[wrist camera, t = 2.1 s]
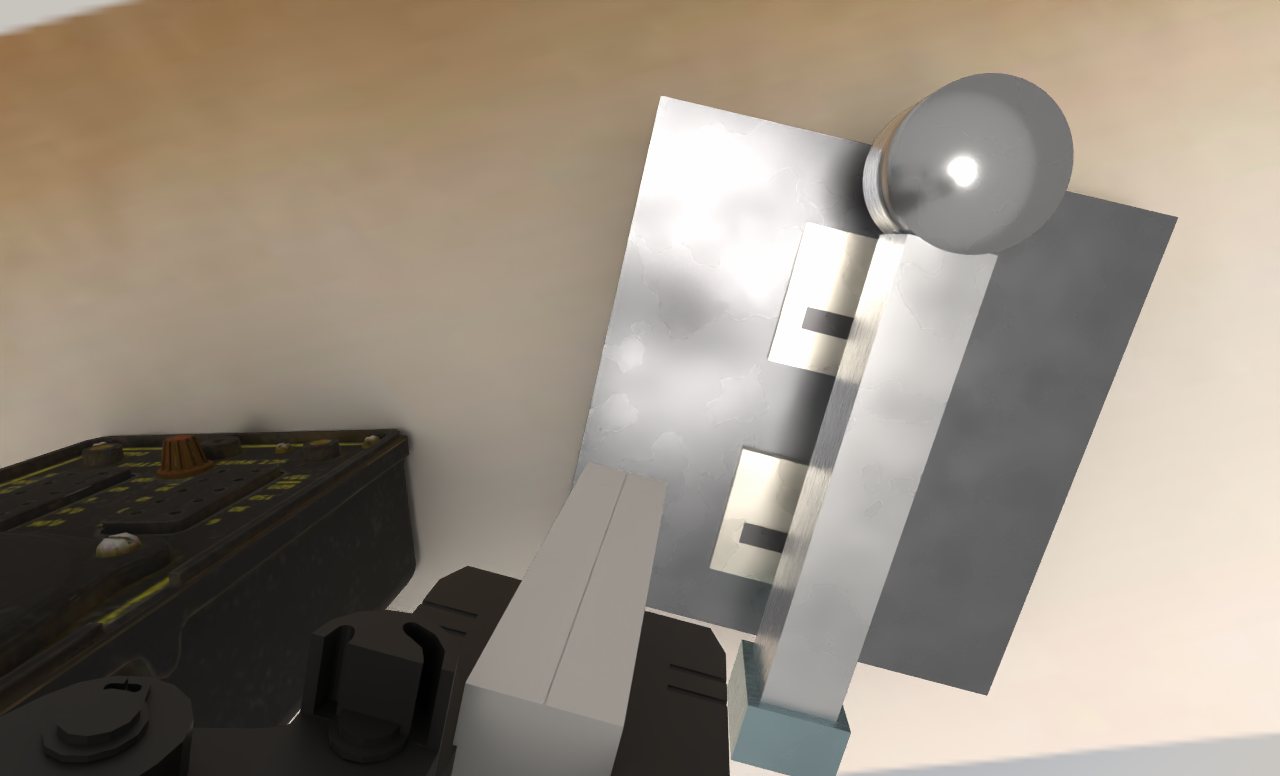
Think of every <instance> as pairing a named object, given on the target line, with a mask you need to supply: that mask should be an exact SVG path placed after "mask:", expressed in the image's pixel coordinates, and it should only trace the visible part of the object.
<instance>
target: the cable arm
mask: <svg viewBox="0 0 1280 776" xmlns="http://www.w3.org/2000/svg"><path fill="white" fill-rule="evenodd" d="M1072 167H1073V142H1072V136H1071V132H1070V128H1069V126H1068V123H1067V121H1066V118H1065V116H1064V115H1063V113H1062V111H1061V109H1060V108H1059V106H1058V105H1057V104H1056V103H1055V101H1054V100H1053V99H1052V98H1051V97H1050V96H1049V95H1048V94H1047V93H1046V92H1045V91H1044V90H1042V89H1041V88H1039V87H1038V86H1036V85H1035V84H1033V83H1031V82H1029V81H1027V80H1025V79H1022V78H1019V77H1016V76H1012V75H1007V74H1000V73H985V74H977V75H972V76H968V77H964V78H961V79H959V80H956V81H954V82H951V83H950V84H948V85H946V86H944V87H942V88H940V89H939V90H937V91H936V92H934V93H932V94H931V95H929V96H928V97H926V98H924V99H923V100H921V101H920V102H918V103H916V104H915V105H913V106H912V107H910V108H908V109H907V110H905V111H904V112H902V113H901V114H899V115H898V116H897V117H895V118H894V119H893V120H892V121H891V122H890V123H888V124H887V125H886V127H885V128H884V129H883V130H882V131H881V132H880V134H879V135H878V137H877V138H876V140H875V141H874V143H873V145H872V147H871V149H870V151H869V154H868V156H867V159H866V163H865V167H864V173H863V193H864V199H865V202H866V206H867V209H868V211H869V213H870V215H871V217H872V219H873V221H874V222H875V224H876V225H877V226H878V227H879V229H880V230H881V231H882V232H883V233H884V234H880V236H879V239H878V242H877V246H876V249H875V252H874V255H873V259H872V262H871V265H870V268H869V272H868V275H867V278H866V281H865V285H864V288H863V291H862V294H861V298H860V301H859V304H858V307H857V311H856V314H855V317H854V321H853V324H852V327H851V330H850V334H849V337H848V340H847V343H846V347H845V350H844V353H843V356H842V360H841V363H840V366H839V369H838V373H837V376H836V379H835V382H834V386H833V389H832V392H831V396H830V399H829V402H828V405H827V409H826V412H825V415H824V418H823V422H822V425H821V428H820V431H819V435H818V438H817V441H816V444H815V448H814V451H813V454H812V457H811V461H810V464H809V467H808V470H807V474H806V477H805V480H804V484H803V487H802V490H801V493H800V497H799V500H798V503H797V506H796V510H795V513H794V516H793V519H792V523H791V526H790V529H789V532H788V536H787V539H786V542H785V545H784V549H783V552H782V555H781V558H780V562H779V565H778V568H777V572H776V575H775V578H774V581H773V585H772V588H771V591H770V594H769V598H768V601H767V604H766V607H765V611H764V614H763V617H762V620H761V624H760V627H759V630H758V633H757V637H756V640H755V643H753V642H749V641H745V640H741V643H740V647H739V650H738V653H737V657H736V660H735V663H734V667H733V670H732V673H731V677H730V680H729V683H728V687H727V694H728V713H729V732H730V751H731V760H734V761H737V762H741V763H745V764H749V765H752V766H756V767H760V768H763V769H767V770H771V771H775V772H778V773H782V774H786V775H790V776H836V773H837V771H838V768H839V765H840V762H841V759H842V756H843V754H844V751H845V748H846V745H847V742H848V740H849V737H850V734H851V731H850V728H849V724H848V721H847V718H846V714H845V711H844V708H843V701H844V699H845V696H846V693H847V690H848V687H849V684H850V681H851V678H852V675H853V673H854V670H855V667H856V664H857V661H858V658H859V655H860V652H861V650H862V647H863V644H864V641H865V638H866V635H867V632H868V629H869V626H870V624H871V621H872V618H873V615H874V612H875V609H876V606H877V603H878V600H879V598H880V595H881V592H882V589H883V586H884V583H885V580H886V577H887V575H888V572H889V569H890V566H891V563H892V560H893V557H894V554H895V551H896V549H897V546H898V543H899V540H900V537H901V534H902V531H903V528H904V525H905V523H906V520H907V517H908V514H909V511H910V508H911V505H912V502H913V500H914V497H915V494H916V491H917V488H918V485H919V482H920V479H921V476H922V474H923V471H924V468H925V465H926V462H927V459H928V456H929V453H930V450H931V448H932V445H933V442H934V439H935V436H936V433H937V430H938V427H939V425H940V422H941V419H942V416H943V413H944V410H945V407H946V404H947V401H948V399H949V396H950V393H951V390H952V387H953V384H954V381H955V378H956V375H957V373H958V370H959V367H960V364H961V361H962V358H963V355H964V352H965V350H966V347H967V344H968V341H969V338H970V335H971V332H972V329H973V326H974V324H975V321H976V318H977V315H978V312H979V309H980V306H981V303H982V301H983V298H984V295H985V292H986V289H987V286H988V283H989V280H990V277H991V275H992V272H993V269H994V266H995V263H996V260H997V257H998V256H997V255H993V254H989V253H993V252H998V251H1001V250H1004V249H1007V248H1009V247H1012V246H1014V245H1016V244H1018V243H1020V242H1022V241H1023V240H1025V239H1026V238H1028V237H1029V236H1031V235H1032V234H1033V233H1035V232H1036V231H1037V230H1038V229H1039V228H1041V227H1042V226H1043V224H1044V223H1045V222H1046V221H1047V220H1048V219H1049V218H1050V217H1051V215H1052V214H1053V213H1054V211H1055V210H1056V209H1057V207H1058V205H1059V204H1060V202H1061V200H1062V199H1063V196H1064V194H1065V192H1066V190H1067V187H1068V184H1069V181H1070V177H1071V173H1072Z"/></svg>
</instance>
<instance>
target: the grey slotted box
mask: <svg viewBox="0 0 1280 776" xmlns="http://www.w3.org/2000/svg"><path fill="white" fill-rule="evenodd" d="M871 147H872V145H869V144H864V143H860V142H856V141H852V140H848V139H843V138H839V137H835V136H831V135H826V134H822V133H818V132H814V131H809V130H805V129H801V128H797V127H792V126H788V125H784V124H780V123H775V122H771V121H767V120H763V119H758V118H754V117H750V116H746V115H741V114H737V113H733V112H729V111H724V110H720V109H716V108H712V107H708V106H703V105H699V104H695V103H691V102H686V101H682V100H678V99H674V98H669V97H665V96H661V97H660V102H659V106H658V110H657V115H656V119H655V124H654V128H653V132H652V137H651V141H650V146H649V150H648V154H647V159H646V163H645V168H644V172H643V176H642V181H641V185H640V190H639V194H638V199H637V203H636V207H635V212H634V216H633V221H632V225H631V229H630V234H629V238H628V243H627V247H626V251H625V256H624V260H623V265H622V269H621V273H620V278H619V282H618V287H617V291H616V295H615V300H614V304H613V309H612V313H611V317H610V322H609V326H608V331H607V335H606V339H605V344H604V348H603V353H602V357H601V361H600V366H599V370H598V375H597V379H596V383H595V388H594V392H593V397H592V401H591V405H590V410H589V414H588V419H587V423H586V427H585V432H584V436H583V441H582V445H581V449H580V454H579V458H578V463H577V467H576V471H575V476H574V480H573V485H572V489H571V491H572V490H573V488H574V486H575V484H576V482H577V481H578V479H579V477H580V475H581V473H582V472H583V470H584V468H585V466H586V464H587V462H590V463H594V464H598V465H602V466H606V467H610V468H614V469H617V470H621V471H625V472H629V473H633V474H637V475H641V476H644V477H648V478H652V479H656V480H660V481H664V482H667V489H666V494H665V500H664V505H663V511H662V517H661V522H660V528H659V533H658V539H657V544H656V550H655V555H654V561H653V566H652V572H651V578H650V583H649V589H648V594H647V600H646V605H645V606H647V607H651V608H654V609H658V610H662V611H666V612H670V613H673V614H677V615H681V616H685V617H689V618H693V619H696V620H700V621H704V622H708V623H712V624H715V625H719V626H723V627H727V628H731V629H735V630H738V631H742V632H746V633H750V634H754V635H757V633H758V630H759V627H760V624H761V620H762V617H763V614H764V611H765V607H766V604H767V601H768V598H769V594H770V591H771V588H772V585H773V581H774V578H775V575H776V572H777V568H778V565H779V562H780V558H781V555H782V552H783V549H784V545H785V542H786V539H787V536H788V532H789V529H790V526H791V523H792V519H793V516H794V513H795V510H796V506H797V503H798V500H799V497H800V493H801V490H802V487H803V484H804V480H805V477H806V474H807V470H808V467H809V464H810V461H811V457H812V454H813V451H814V448H815V444H816V441H817V438H818V435H819V431H820V428H821V425H822V422H823V418H824V415H825V412H826V409H827V405H828V402H829V399H830V396H831V392H832V389H833V386H834V382H835V379H836V376H837V373H838V369H839V366H840V363H841V360H842V356H843V353H844V350H845V347H846V343H847V340H848V337H849V334H850V330H851V327H852V324H853V321H854V317H855V314H856V311H857V307H858V304H859V301H860V298H861V294H862V291H863V288H864V285H865V281H866V278H867V275H868V272H869V268H870V265H871V262H872V259H873V255H874V252H875V249H876V246H877V242H878V239H879V236H880V234H884V233H883V232H882V231H881V230H880V229H879V227H878V226H877V225H876V224H875V222H874V221H873V219H872V217H871V215H870V213H869V211H868V209H867V206H866V202H865V199H864V193H863V173H864V167H865V163H866V159H867V156H868V154H869V151H870V149H871ZM1177 219H1178V217H1174V216H1170V215H1166V214H1161V213H1157V212H1153V211H1149V210H1145V209H1140V208H1136V207H1132V206H1128V205H1123V204H1119V203H1115V202H1111V201H1106V200H1102V199H1098V198H1094V197H1089V196H1085V195H1081V194H1077V193H1072V192H1068V191H1066V192H1065V194H1064V196H1063V199H1062V200H1061V202H1060V204H1059V205H1058V207H1057V209H1056V210H1055V211H1054V213H1053V214H1052V215H1051V217H1050V218H1049V219H1048V220H1047V221H1046V222H1045V223H1044V224H1043V226H1042V227H1041V228H1039V229H1038V230H1037V231H1036V232H1035V233H1033V234H1032V235H1031V236H1029V237H1028V238H1026V239H1025V240H1023V241H1022V242H1020V243H1018V244H1016V245H1014V246H1012V247H1009V248H1007V249H1004V250H1001V251H998V252H993V253H989V254H993V255H997V256H998V257H997V260H996V263H995V266H994V269H993V272H992V275H991V277H990V280H989V283H988V286H987V289H986V292H985V295H984V298H983V301H982V303H981V306H980V309H979V312H978V315H977V318H976V321H975V324H974V326H973V329H972V332H971V335H970V338H969V341H968V344H967V347H966V350H965V352H964V355H963V358H962V361H961V364H960V367H959V370H958V373H957V375H956V378H955V381H954V384H953V387H952V390H951V393H950V396H949V399H948V401H947V404H946V407H945V410H944V413H943V416H942V419H941V422H940V425H939V427H938V430H937V433H936V436H935V439H934V442H933V445H932V448H931V450H930V453H929V456H928V459H927V462H926V465H925V468H924V471H923V474H922V476H921V479H920V482H919V485H918V488H917V491H916V494H915V497H914V500H913V502H912V505H911V508H910V511H909V514H908V517H907V520H906V523H905V525H904V528H903V531H902V534H901V537H900V540H899V543H898V546H897V549H896V551H895V554H894V557H893V560H892V563H891V566H890V569H889V572H888V575H887V577H886V580H885V583H884V586H883V589H882V592H881V595H880V598H879V600H878V603H877V606H876V609H875V612H874V615H873V618H872V621H871V624H870V626H869V629H868V632H867V635H866V638H865V641H864V644H863V647H862V650H861V652H860V655H859V658H858V661H857V662H861V663H864V664H868V665H872V666H876V667H880V668H883V669H887V670H891V671H895V672H899V673H903V674H906V675H910V676H914V677H918V678H922V679H925V680H929V681H933V682H937V683H941V684H945V685H948V686H952V687H956V688H960V689H964V690H968V691H971V692H975V693H979V694H983V695H988V692H989V690H990V687H991V685H992V682H993V680H994V677H995V675H996V672H997V670H998V667H999V665H1000V662H1001V660H1002V657H1003V655H1004V652H1005V650H1006V647H1007V645H1008V642H1009V640H1010V637H1011V635H1012V632H1013V630H1014V627H1015V625H1016V622H1017V620H1018V617H1019V615H1020V612H1021V610H1022V607H1023V605H1024V602H1025V600H1026V597H1027V595H1028V592H1029V590H1030V587H1031V585H1032V582H1033V580H1034V577H1035V575H1036V572H1037V570H1038V567H1039V565H1040V562H1041V560H1042V557H1043V555H1044V552H1045V550H1046V547H1047V545H1048V542H1049V540H1050V537H1051V535H1052V532H1053V530H1054V527H1055V525H1056V522H1057V520H1058V517H1059V515H1060V512H1061V510H1062V507H1063V504H1064V502H1065V499H1066V497H1067V494H1068V492H1069V489H1070V487H1071V484H1072V482H1073V479H1074V477H1075V474H1076V472H1077V469H1078V467H1079V464H1080V462H1081V459H1082V457H1083V454H1084V452H1085V449H1086V447H1087V444H1088V442H1089V439H1090V437H1091V434H1092V432H1093V429H1094V427H1095V424H1096V422H1097V419H1098V417H1099V414H1100V412H1101V409H1102V407H1103V404H1104V402H1105V399H1106V397H1107V394H1108V392H1109V389H1110V387H1111V384H1112V382H1113V379H1114V377H1115V374H1116V372H1117V369H1118V367H1119V364H1120V362H1121V359H1122V357H1123V354H1124V352H1125V349H1126V347H1127V344H1128V342H1129V339H1130V337H1131V334H1132V332H1133V329H1134V327H1135V324H1136V322H1137V319H1138V317H1139V314H1140V312H1141V309H1142V307H1143V304H1144V302H1145V299H1146V297H1147V294H1148V292H1149V289H1150V287H1151V284H1152V282H1153V279H1154V277H1155V274H1156V272H1157V269H1158V267H1159V264H1160V262H1161V259H1162V257H1163V254H1164V252H1165V249H1166V247H1167V244H1168V242H1169V239H1170V237H1171V234H1172V232H1173V229H1174V227H1175V224H1176V222H1177Z"/></svg>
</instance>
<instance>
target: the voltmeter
mask: <svg viewBox="0 0 1280 776" xmlns="http://www.w3.org/2000/svg"><path fill="white" fill-rule="evenodd" d="M408 455H409V446H408V437H407V436H404V435H400V431H398V430H396V429H390V430H350V431H310V432H269V433H229V434H186V435H149V436H109V437H100V438H95V439H91V440H86V441H83V442H80V443H77V444H74V445H71V446H68V447H65V448H62V449H59V450H56V451H53V452H50V453H47V454H44V455H41V456H38V457H35V458H32V459H29V460H26V461H23V462H19V463H16V464H13V465H10V466H7V467H4V468H1V469H0V717H1V716H3V715H5V714H7V713H9V712H11V711H13V710H15V709H18V708H20V707H22V706H24V705H26V704H28V703H30V702H32V701H34V700H36V699H38V698H40V697H42V696H44V695H47V694H49V693H52V692H54V691H57V690H60V689H62V688H65V687H68V686H70V685H73V684H76V683H78V682H83V681H89V680H94V679H100V678H106V677H112V676H139V677H151V678H154V679H157V680H161V681H164V682H167V683H170V684H173V685H175V686H176V687H177V688H179V689H180V690H181V691H182V692H183V693H184V694H185V695H186V696H187V697H188V698H189V699H190V700H191V706H192V712H193V718H194V721H193V728H246V729H253V728H269V727H279V726H283V725H287V724H288V723H289V722H290V721H291V719H292V718H293V717H294V716H295V715H296V713H297V712H298V711H299V710H300V709H301V703H302V696H303V689H304V682H305V675H306V668H307V661H308V654H309V647H310V640H311V633H313V632H314V631H316V630H317V629H319V628H320V627H322V626H323V625H325V624H326V623H328V622H329V621H331V620H332V619H336V618H339V617H342V616H345V615H349V614H352V613H355V612H360V611H375V610H385V609H386V608H387V607H388V606H389V605H390V603H391V602H392V601H393V600H394V599H395V597H396V596H397V595H398V594H399V593H400V592H401V590H402V589H403V588H404V587H405V586H406V585H407V583H408V582H409V581H410V579H411V578H412V576H413V574H414V571H415V565H416V564H415V555H414V547H413V539H412V531H411V523H410V515H409V507H408V498H407V490H406V482H405V474H404V466H403V459H404V458H405V457H406V456H408Z"/></svg>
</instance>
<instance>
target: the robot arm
mask: <svg viewBox="0 0 1280 776" xmlns="http://www.w3.org/2000/svg"><path fill="white" fill-rule="evenodd" d="M666 489H667V482H664V481H660V480H656V479H652V478H648V477H644V476H641V475H637V474H633V473H629V472H625V471H621V470H617V469H614V468H610V467H606V466H602V465H598V464H594V463H590V462H587V464H586V466H585V468H584V470H583V472H582V473H581V475H580V477H579V479H578V481H577V482H576V484H575V486H574V488H573V490H572V491H571V493H570V495H569V497H568V499H567V500H566V502H565V504H564V506H563V508H562V509H561V511H560V513H559V515H558V517H557V518H556V520H555V522H554V524H553V526H552V527H551V529H550V531H549V533H548V535H547V537H546V538H545V540H544V542H543V544H542V546H541V547H540V549H539V551H538V553H537V555H536V556H535V558H534V560H533V562H532V564H531V565H530V567H529V569H528V571H527V573H526V574H525V576H524V578H523V580H518V579H515V578H511V577H507V576H503V575H500V574H496V573H492V572H489V571H485V570H481V569H477V568H474V567H470V566H466V567H464V568H462V569H460V570H458V571H456V572H454V573H452V574H450V575H448V576H446V577H444V578H441V579H440V580H439V581H438V582H437V583H436V585H435V586H434V587H433V588H432V590H431V591H430V592H429V594H428V595H427V596H426V597H425V599H424V600H423V603H422V604H420V605H419V606H418V607H417V609H416V610H415V611H414V612H413V614H412V613H405V612H398V611H392V610H375V611H360V612H355V613H352V614H349V615H345V616H342V617H339V618H336V619H332V620H331V621H329V622H328V623H326V624H325V625H323V626H322V627H320V628H319V629H317V630H316V631H314V632H313V633H311V640H310V647H309V654H308V661H307V668H306V675H305V682H304V689H303V696H302V703H301V710H300V713H299V714H298V715H297V716H296V718H295V719H294V720H293V721H292V722H291V723H290V724H288V725H283V726H279V727H269V728H253V729H246V728H193V721H194V718H193V712H192V706H191V700H190V699H189V698H188V697H187V696H186V695H185V694H184V693H183V692H182V691H181V690H180V689H179V688H177V687H176V686H175V685H173V684H170V683H167V682H164V681H161V680H157V679H154V678H151V677H139V676H112V677H106V678H100V679H94V680H89V681H83V682H78V683H76V684H73V685H70V686H68V687H65V688H62V689H60V690H57V691H54V692H52V693H49V694H47V695H44V696H42V697H40V698H38V699H36V700H34V701H32V702H30V703H28V704H26V705H24V706H22V707H20V708H18V709H15V710H13V711H11V712H9V713H7V714H5V715H3V716H1V717H0V776H730V770H729V740H728V710H727V706H726V704H727V684H726V653H725V652H724V650H723V648H722V647H721V645H720V643H719V642H718V640H717V639H716V637H715V635H714V634H713V632H712V630H711V629H710V628H707V627H704V626H700V625H696V624H692V623H689V622H685V621H681V620H677V619H674V618H670V617H666V616H663V615H659V614H655V613H651V612H648V611H645V605H646V600H647V594H648V589H649V583H650V578H651V572H652V566H653V561H654V555H655V550H656V544H657V539H658V533H659V528H660V522H661V517H662V511H663V505H664V500H665V494H666Z"/></svg>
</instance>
